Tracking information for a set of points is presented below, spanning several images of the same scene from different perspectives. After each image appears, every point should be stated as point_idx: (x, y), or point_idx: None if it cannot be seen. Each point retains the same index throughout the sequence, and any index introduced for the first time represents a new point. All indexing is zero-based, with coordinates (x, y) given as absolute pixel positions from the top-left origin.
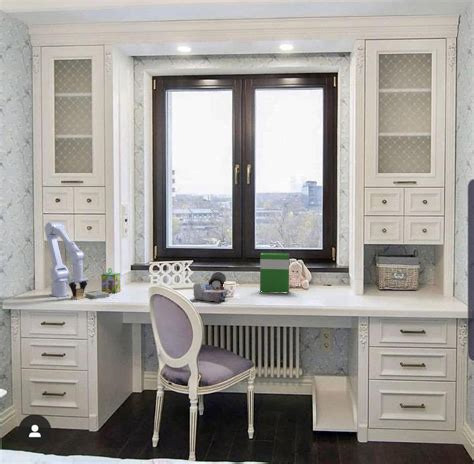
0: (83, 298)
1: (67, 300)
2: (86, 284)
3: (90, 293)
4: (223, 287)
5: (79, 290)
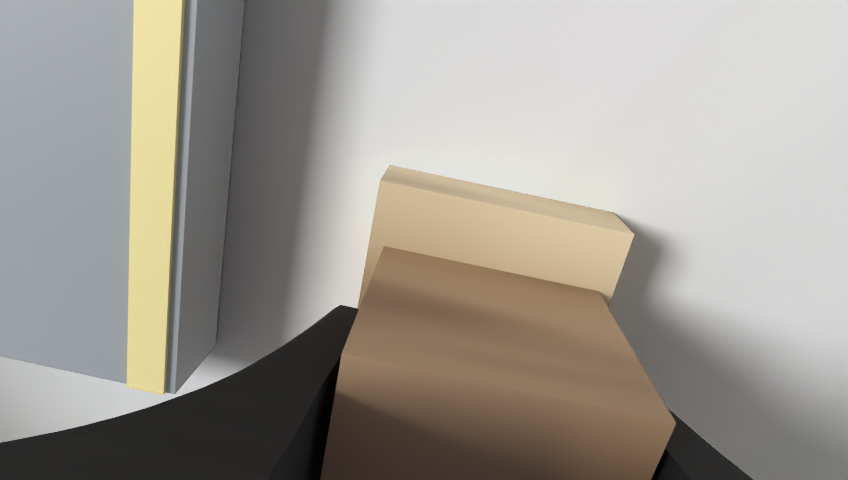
0: (439, 177)
1: (786, 354)
2: (37, 448)
3: (88, 266)
4: None
5: (531, 375)
